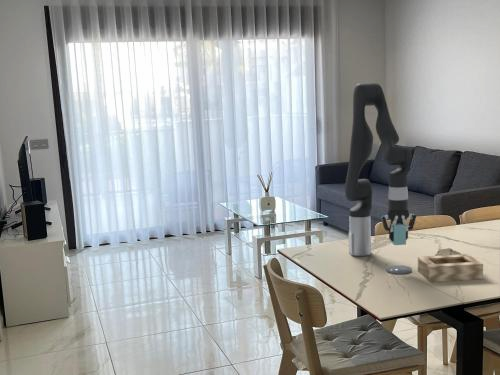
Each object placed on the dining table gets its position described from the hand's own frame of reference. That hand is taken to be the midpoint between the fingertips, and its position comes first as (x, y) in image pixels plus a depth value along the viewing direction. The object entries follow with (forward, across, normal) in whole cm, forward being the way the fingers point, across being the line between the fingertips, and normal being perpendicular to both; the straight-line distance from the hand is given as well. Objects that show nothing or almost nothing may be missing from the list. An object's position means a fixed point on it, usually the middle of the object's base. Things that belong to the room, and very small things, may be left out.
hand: (398, 240), depth 232 cm
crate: (+13, +17, -9) cm, 23 cm away
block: (+1, 0, 0) cm, 1 cm away
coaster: (+12, 0, 0) cm, 12 cm away
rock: (+13, +24, +11) cm, 30 cm away
